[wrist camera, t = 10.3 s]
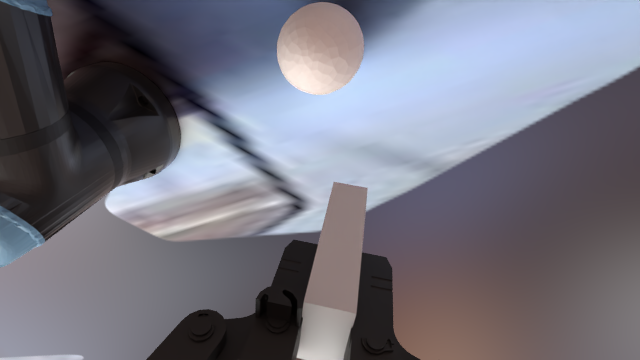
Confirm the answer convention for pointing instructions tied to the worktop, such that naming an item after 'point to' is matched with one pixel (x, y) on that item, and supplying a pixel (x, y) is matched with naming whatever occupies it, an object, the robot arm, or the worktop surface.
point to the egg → (320, 48)
